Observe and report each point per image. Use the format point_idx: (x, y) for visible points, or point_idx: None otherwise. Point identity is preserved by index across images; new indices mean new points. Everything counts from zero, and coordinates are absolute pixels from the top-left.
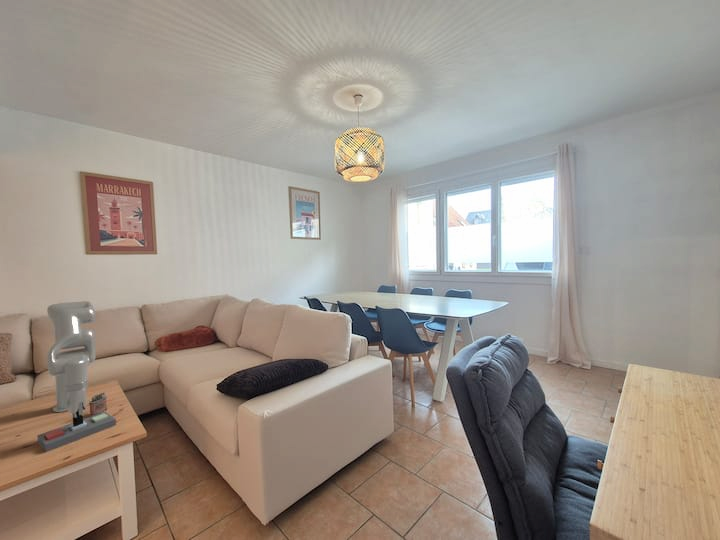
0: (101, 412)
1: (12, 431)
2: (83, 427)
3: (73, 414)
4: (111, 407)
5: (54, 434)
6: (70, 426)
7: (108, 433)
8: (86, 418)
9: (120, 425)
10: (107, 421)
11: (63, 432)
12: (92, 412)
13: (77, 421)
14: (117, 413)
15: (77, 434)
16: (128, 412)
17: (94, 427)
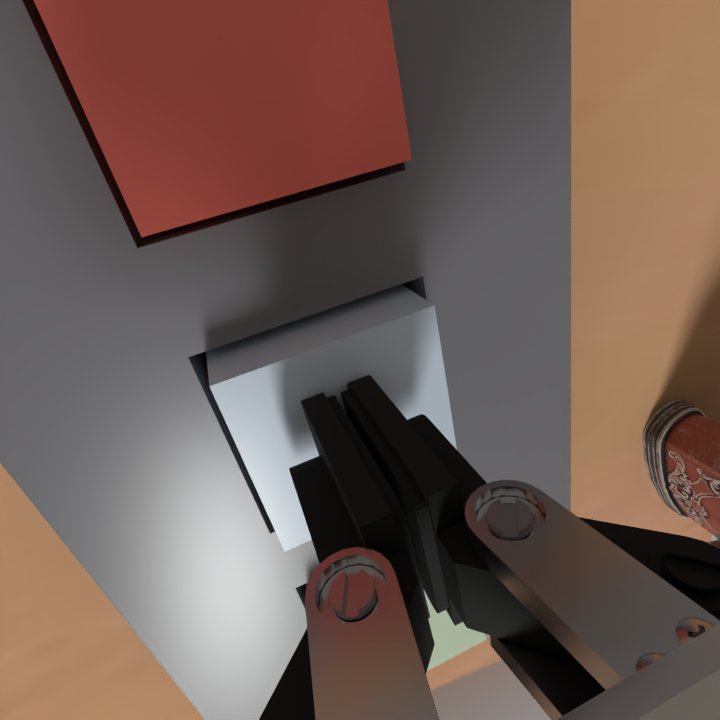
0: (657, 485)
1: None
2: (239, 491)
3: (503, 568)
4: (689, 524)
5: (111, 28)
6: (367, 331)
7: (4, 683)
8: (560, 453)
9: (180, 715)
10: (226, 707)
11: (144, 230)
12: (695, 452)
13: (302, 510)
14: None
15: (8, 444)
16: (461, 673)
17: (131, 619)
